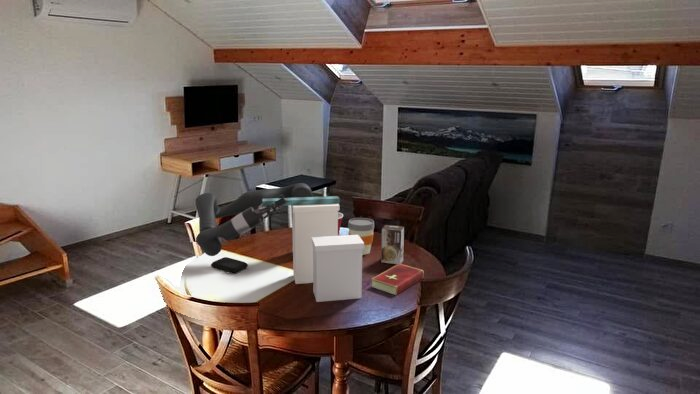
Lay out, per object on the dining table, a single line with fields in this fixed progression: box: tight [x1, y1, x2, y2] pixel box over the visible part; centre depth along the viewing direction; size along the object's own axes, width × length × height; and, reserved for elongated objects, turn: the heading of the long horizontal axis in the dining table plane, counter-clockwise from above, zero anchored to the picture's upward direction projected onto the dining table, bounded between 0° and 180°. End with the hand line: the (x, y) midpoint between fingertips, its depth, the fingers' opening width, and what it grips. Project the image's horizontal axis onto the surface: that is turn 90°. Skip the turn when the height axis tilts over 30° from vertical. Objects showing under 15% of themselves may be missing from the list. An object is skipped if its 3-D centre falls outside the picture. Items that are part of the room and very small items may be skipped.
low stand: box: [312, 234, 364, 303], centre depth 177 cm, size 18×10×22 cm, turn 102°
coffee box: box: [380, 224, 405, 265], centre depth 211 cm, size 9×6×16 cm
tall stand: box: [290, 203, 341, 285], centre depth 190 cm, size 18×10×32 cm, turn 102°
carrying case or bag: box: [210, 256, 249, 275], centre depth 202 cm, size 11×3×15 cm
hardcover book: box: [370, 263, 425, 296], centre depth 191 cm, size 12×21×4 cm, turn 142°
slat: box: [262, 195, 341, 207], centre depth 185 cm, size 30×4×2 cm, turn 102°
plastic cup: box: [338, 211, 344, 236], centre depth 244 cm, size 11×11×12 cm
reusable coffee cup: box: [347, 217, 375, 256], centre depth 223 cm, size 13×13×15 cm
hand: (284, 198), depth 183 cm, fingers closed on slat, 4 cm apart
